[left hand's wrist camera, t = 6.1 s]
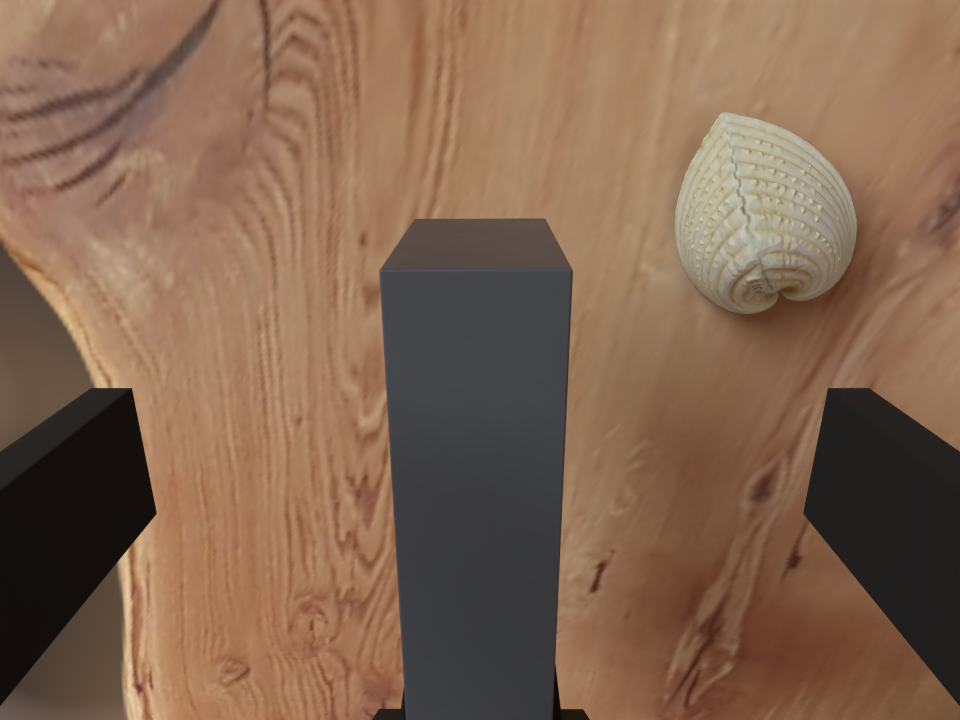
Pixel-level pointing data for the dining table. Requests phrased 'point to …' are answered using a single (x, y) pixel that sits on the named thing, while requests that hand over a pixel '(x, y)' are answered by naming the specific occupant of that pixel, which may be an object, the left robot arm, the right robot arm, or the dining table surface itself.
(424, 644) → the bar
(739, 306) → the seashell
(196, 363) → the dining table surface
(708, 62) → the dining table surface
